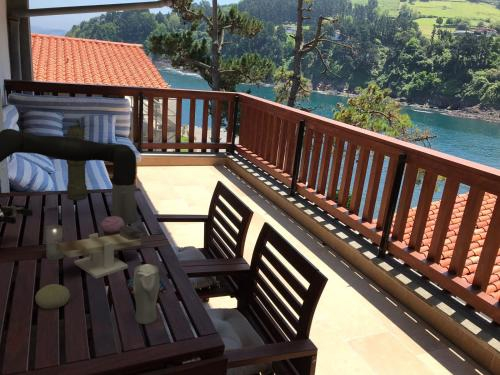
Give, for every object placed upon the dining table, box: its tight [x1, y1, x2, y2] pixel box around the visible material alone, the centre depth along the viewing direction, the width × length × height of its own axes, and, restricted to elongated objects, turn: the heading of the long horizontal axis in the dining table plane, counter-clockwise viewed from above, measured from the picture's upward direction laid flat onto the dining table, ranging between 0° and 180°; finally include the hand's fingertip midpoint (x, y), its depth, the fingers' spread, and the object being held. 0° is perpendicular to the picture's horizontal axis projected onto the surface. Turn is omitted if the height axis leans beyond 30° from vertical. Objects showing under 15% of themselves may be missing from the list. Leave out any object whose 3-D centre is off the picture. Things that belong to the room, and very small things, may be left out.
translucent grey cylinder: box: [44, 224, 64, 261], centre depth 156 cm, size 6×6×11 cm
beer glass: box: [133, 263, 160, 325], centre depth 124 cm, size 7×7×15 cm
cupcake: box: [100, 216, 126, 236], centre depth 173 cm, size 9×9×10 cm
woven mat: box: [125, 278, 167, 299], centre depth 142 cm, size 10×11×2 cm
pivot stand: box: [74, 232, 129, 279], centre depth 153 cm, size 12×14×10 cm
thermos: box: [65, 125, 88, 202], centre depth 216 cm, size 9×12×35 cm
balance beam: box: [56, 225, 143, 259], centre depth 152 cm, size 27×8×5 cm, turn 137°
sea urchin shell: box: [34, 283, 71, 310], centre depth 130 cm, size 9×8×8 cm
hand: (23, 216), depth 156 cm, fingers open, 8 cm apart
